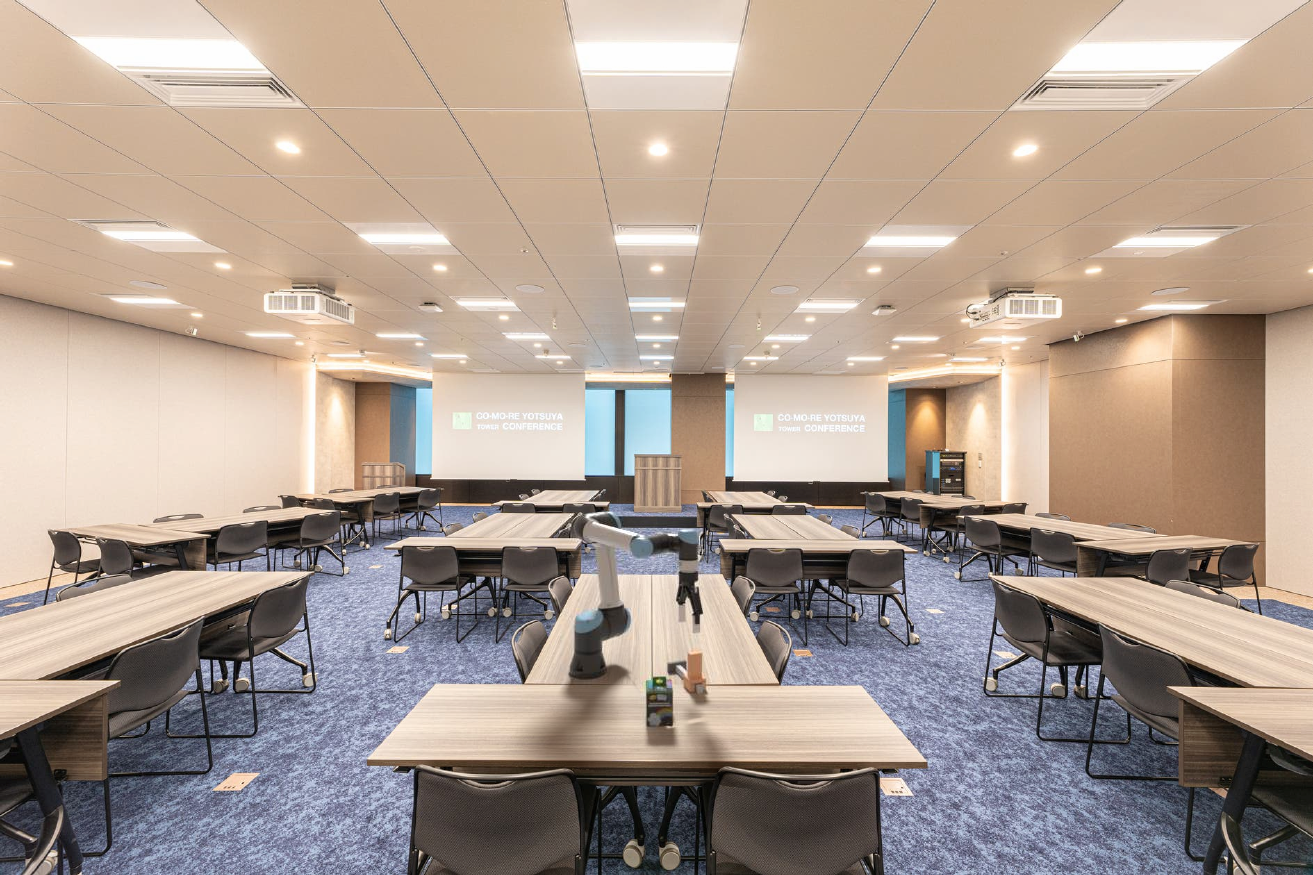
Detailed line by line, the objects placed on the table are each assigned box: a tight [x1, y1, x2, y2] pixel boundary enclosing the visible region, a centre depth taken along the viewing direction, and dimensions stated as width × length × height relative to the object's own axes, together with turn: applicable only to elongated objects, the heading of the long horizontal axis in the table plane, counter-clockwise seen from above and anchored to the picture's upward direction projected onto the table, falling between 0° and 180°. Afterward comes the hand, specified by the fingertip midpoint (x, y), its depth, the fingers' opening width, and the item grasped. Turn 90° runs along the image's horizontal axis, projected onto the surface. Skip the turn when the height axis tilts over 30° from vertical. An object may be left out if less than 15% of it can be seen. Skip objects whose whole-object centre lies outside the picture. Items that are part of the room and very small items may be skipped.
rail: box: [666, 659, 704, 695], centre depth 194 cm, size 25×12×4 cm, turn 22°
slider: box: [682, 650, 707, 693], centre depth 189 cm, size 6×7×13 cm
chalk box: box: [645, 675, 674, 727], centre depth 167 cm, size 9×9×15 cm
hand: (689, 627), depth 188 cm, fingers open, 13 cm apart
